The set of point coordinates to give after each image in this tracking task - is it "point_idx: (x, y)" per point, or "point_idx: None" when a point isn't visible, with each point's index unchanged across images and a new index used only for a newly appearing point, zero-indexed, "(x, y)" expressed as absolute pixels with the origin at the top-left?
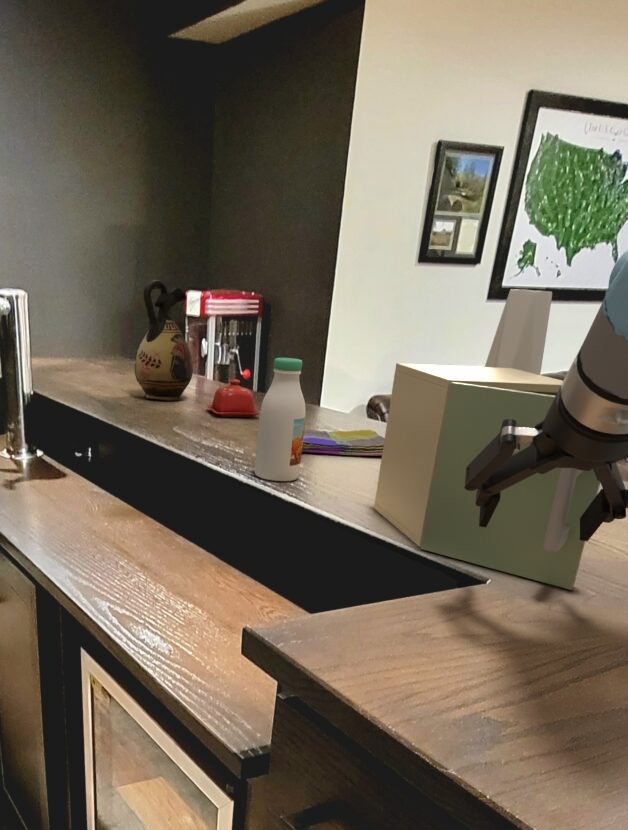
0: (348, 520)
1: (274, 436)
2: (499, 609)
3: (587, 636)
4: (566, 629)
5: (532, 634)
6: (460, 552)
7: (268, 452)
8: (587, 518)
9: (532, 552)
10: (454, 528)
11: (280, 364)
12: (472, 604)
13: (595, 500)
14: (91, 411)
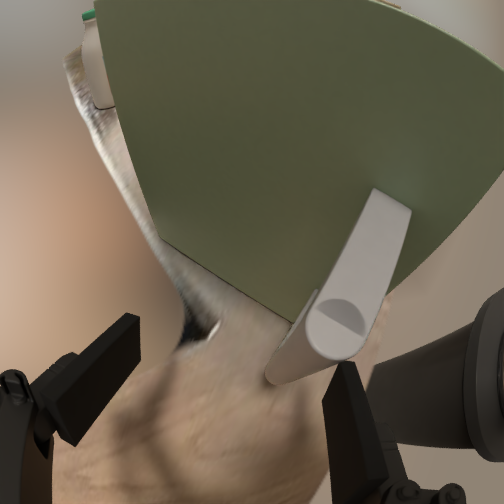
0: (118, 170)
1: (90, 75)
2: (193, 423)
3: (287, 478)
4: (267, 466)
5: (212, 485)
6: (196, 258)
7: (91, 88)
8: (337, 415)
9: (281, 298)
10: (180, 232)
11: (83, 16)
12: (160, 411)
13: (355, 445)
14: (66, 61)
